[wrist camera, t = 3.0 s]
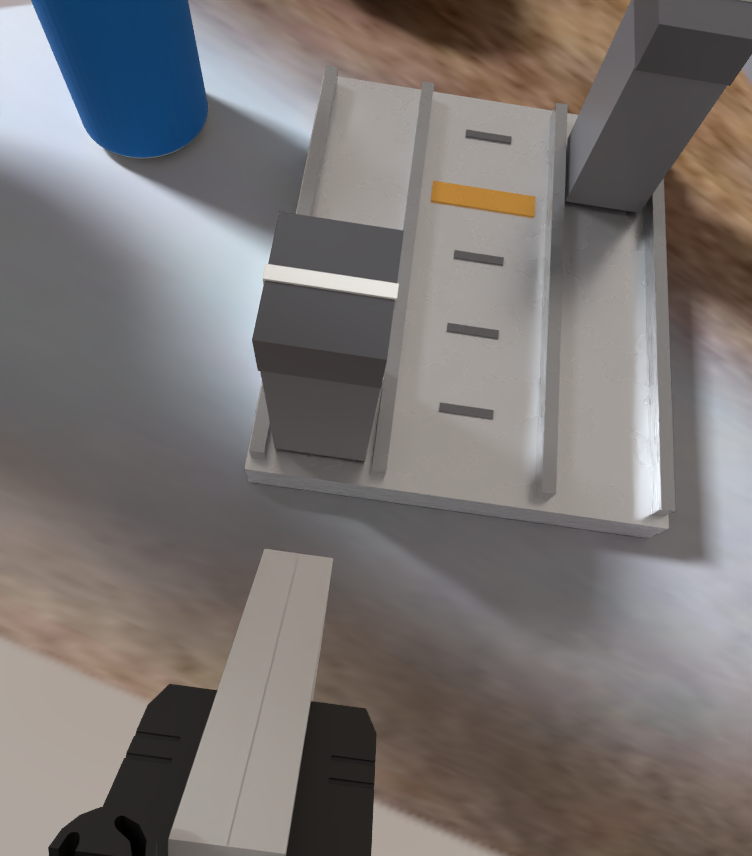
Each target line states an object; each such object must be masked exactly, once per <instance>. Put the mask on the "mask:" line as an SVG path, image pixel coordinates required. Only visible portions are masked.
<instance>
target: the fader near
mask: <svg viewBox="0 0 752 856" xmlns="http://www.w3.org/2000/svg"><path fill="white" fill-rule="evenodd" d="M403 234H404V230H397V229H391V228H384V227H378V226H371V225H365V224H358V223H352V222H345V221H339V220H332V219H326V218H319V217H313V216H306V215H299V214H293V213H286V212H280V211H279V216H278V220H277V225H276V230H275V235H274V239H273V244H272V249H271V253H270V258H269V263H268V264H266V266H265V270H264V275H263V284H264V286H263V291H262V296H261V301H260V305H259V310H258V315H257V319H256V324H255V329H254V334H253V338H252V342H253V347H254V352H255V357H256V363H257V368H258V371H260V372H261V377H262V383H263V388H264V393H265V399H266V404H267V410H268V415H269V421H270V426H271V431H272V437H273V442H274V448H275V449H282V450H289V451H296V452H303V453H311V454H318V455H325V456H332V457H339V458H346V459H353V460H360V461H365V459H366V454H367V449H368V445H369V440H370V435H371V431H372V426H373V421H374V417H375V412H376V407H377V402H378V398H379V393H380V389H381V386H382V381H383V377H384V372H385V367H386V363H387V357H388V349H389V342H390V334H391V326H392V319H393V311H394V309H395V306H396V301H397V295H398V287H399V284H397V280H398V273H399V265H400V257H401V250H402V242H403Z"/></svg>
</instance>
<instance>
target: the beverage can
mask: <svg viewBox="0 0 752 856" xmlns="http://www.w3.org/2000/svg"><path fill="white" fill-rule="evenodd" d="M31 1H32V4H33V6H34V8H35V11H36V13H37V15H38V18H39V20H40V23H41V25H42V27H43V30H44V32H45V34H46V37H47V39H48V42H49V44H50V46H51V49H52V51H53V54H54V56H55V58H56V61H57V63H58V65H59V68H60V70H61V73H62V75H63V77H64V80H65V82H66V84H67V87H68V89H69V92H70V94H71V96H72V99H73V101H74V104H75V106H76V108H77V111H78V113H79V115H80V118H81V120H82V123H83V125H84V127H85V129H86V131H87V133H88V134H89V135H90V136H91V138H92V139H93V140H94V141H95V142H96V143H97V144H99V145H100V146H102V147H103V148H105V149H106V150H108V151H110V152H113V153H115V154H118V155H121V156H125V157H131V158H154V157H160V156H164V155H167V154H170V153H173V152H175V151H177V150H179V149H181V148H183V147H184V146H186V145H187V144H189V143H190V142H191V141H192V140H193V139H195V137H196V136H197V135H198V134H199V133H200V131H201V130H202V128H203V126H204V124H205V122H206V118H207V112H208V105H207V98H206V93H205V88H204V82H203V77H202V72H201V67H200V61H199V56H198V51H197V46H196V40H195V35H194V30H193V25H192V19H191V14H190V9H189V4H188V0H31Z"/></svg>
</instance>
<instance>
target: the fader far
mask: <svg viewBox="0 0 752 856" xmlns="http://www.w3.org/2000/svg"><path fill="white" fill-rule="evenodd" d="M751 54H752V0H631V2H630V4H629V6H628V8H627V11H626V13H625V15H624V17H623V19H622V21H621V24H620V26H619V28H618V30H617V32H616V34H615V37H614V39H613V41H612V43H611V45H610V48H609V50H608V52H607V54H606V56H605V58H604V61H603V63H602V65H601V67H600V69H599V71H598V74H597V76H596V78H595V80H594V82H593V85H592V87H591V89H590V91H589V93H588V95H587V98H586V100H585V102H584V104H583V106H582V108H581V111H580V113H579V115H578V117H577V119H576V122H575V124H574V126H573V128H572V130H571V132H570V135H569V137H568V139H567V167H566V202H573V203H579V204H586V205H592V206H598V207H605V208H611V209H618V210H624V211H630V212H637V213H640V212H641V210H642V209H643V207H644V206H645V205H646V203H647V202H648V200H649V199H650V197H651V196H652V194H653V193H654V191H655V190H656V189H657V187H658V186H659V184H660V183H661V181H662V180H663V178H664V177H665V175H666V174H667V172H668V171H669V170H670V168H671V167H672V165H673V164H674V162H675V161H676V159H677V158H678V156H679V155H680V154H681V152H682V151H683V149H684V148H685V146H686V145H687V143H688V142H689V140H690V139H691V137H692V136H693V135H694V133H695V132H696V130H697V129H698V127H699V126H700V124H701V123H702V121H703V120H704V119H705V117H706V116H707V114H708V113H709V111H710V110H711V108H712V107H713V105H714V104H715V102H716V101H717V100H718V98H719V97H720V95H721V94H722V92H723V91H724V89H725V88H726V86H727V85H729V86H730V85H731V83H732V82H733V81H734V79H735V78H736V76H737V75H738V73H739V72H740V70H741V69H742V68H743V66H744V65H745V63H746V62H747V60H748V59H749V57H750V56H751Z"/></svg>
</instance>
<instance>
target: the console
mask: <svg viewBox="0 0 752 856" xmlns="http://www.w3.org/2000/svg"><path fill="white" fill-rule="evenodd" d="M433 89H434V83H430V82H424V81H423V82H422V88H421V90H419V89H413V88H407V87H401V86H394V85H388V84H382V83H376V82H369V81H363V80H357V79H351V78H344V77H338V68H337V67H331V66H326V70H325V74H324V75H323V80H322V85H321V90H320V95H319V100H318V105H317V110H316V115H315V120H314V125H313V130H312V135H311V140H310V145H309V150H308V155H307V160H306V165H305V170H304V175H303V180H302V185H301V190H300V195H299V199H298V204H297V209H296V214H299V215H306V216H313V217H319V218H326V219H332V220H339V221H345V222H352V223H358V224H365V225H371V226H378V227H384V228H391V229H397V230H404V234H403V242H402V250H401V257H400V265H399V273H398V280H397V284H399V287H398V295H397V301H396V306H395V309H394V311H393V319H392V326H391V334H390V342H389V349H388V357H387V363H386V367H385V372H384V377H383V381H382V386H381V389H380V393H379V398H378V402H377V407H376V412H375V417H374V421H373V426H372V431H371V435H370V440H369V445H368V449H367V454H366V459H365V461H360V460H353V459H346V458H339V457H332V456H325V455H318V454H311V453H303V452H296V451H289V450H282V449H275V448H274V442H273V437H272V431H271V426H270V421H269V415H268V410H267V404H266V399H265V393H264V388H263V383H261V388H260V393H259V398H258V403H257V408H256V413H255V418H254V423H253V428H252V433H251V438H250V443H249V448H248V453H247V458H246V463H245V468H244V470H245V473H246V475H247V478H248V481H249V482H252V483H259V484H266V485H273V486H280V487H287V488H294V489H301V490H308V491H316V492H323V493H330V494H337V495H344V496H351V497H358V498H365V499H372V500H380V501H387V502H394V503H401V504H408V505H415V506H422V507H429V508H436V509H444V510H451V511H458V512H465V513H472V514H479V515H486V516H493V517H500V518H508V519H515V520H522V521H529V522H536V523H543V524H550V525H557V526H564V527H572V528H579V529H586V530H593V531H600V532H607V533H614V534H621V535H628V536H636V537H643V538H649V537H652V536H654V535H656V534H658V533H661V532H663V531H665V530H668V529H669V514H671V513H673V512H675V511H676V506H675V478H674V450H673V422H672V393H671V365H670V337H669V309H668V281H667V253H666V225H665V196H664V178H663V180H662V181H661V183H660V184H659V186H658V187H657V189H656V190H655V191H654V193H653V194H652V196H651V197H650V199H649V200H648V202H647V203H646V205H645V206H644V207H643V209H642V210H641V212H640V213H637V212H630V211H624V210H618V209H611V208H605V207H598V206H592V205H586V204H579V203H573V202H566V167H567V139H568V137H569V135H570V132H571V130H572V128H573V126H574V124H575V122H576V119H577V117H578V115H575V114H569V113H567V106H568V105H567V104H561V103H556V104H555V107H554V109H553V111H550V110H544V109H538V108H532V107H525V106H519V105H513V104H507V103H500V102H494V101H488V100H482V99H475V98H469V97H463V96H457V95H450V94H444V93H438V92H433Z"/></svg>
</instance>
